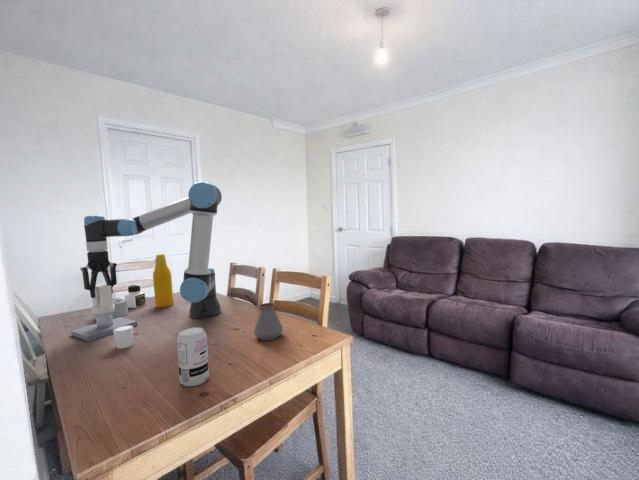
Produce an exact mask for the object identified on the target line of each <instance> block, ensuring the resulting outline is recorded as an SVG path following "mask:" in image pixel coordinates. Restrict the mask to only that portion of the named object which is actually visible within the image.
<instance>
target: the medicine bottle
mask: <svg viewBox="0 0 639 480" xmlns="http://www.w3.org/2000/svg"><path fill="white" fill-rule="evenodd" d="M141 289H142V288H141V285H140V284H132V285H129V286H128V287H127V292H128V294H126V295H124V299H126V300H127V305H128V309H138V308H140V307H143V306H145V305H146V293H145V292H141Z"/></svg>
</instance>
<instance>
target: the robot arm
mask: <svg viewBox="0 0 639 480" xmlns="http://www.w3.org/2000/svg"><path fill="white" fill-rule="evenodd" d="M187 195H188V197H185V198H182V199H180V200H177V201H174V202H172V203H170V204H167V205H164V206H161V207H158V208H156V209H154V210H151V211H148V212H145V213H143V214H141V215H138V216H136V217H132V218H117V219H106V217H105V216H104V215H86V216H85V217H84V218H83V228H84V233H85V244H86V245H85V246H86V251H87V253H86V255H87V264H86V266H82V267H80V268H79V269H80V271H81V272H82V273H81V274H82V281H83V287H84V290H85V291H89V294H90V298H91V299H92V298H93V299H92V303H93V302H94V305H99V303H98V293H97V290H95V286H96V285H97V278H98V275H99V273H100V272H101V273H102V276H103V278H104V281H105V283H106V284H105V285H109V286H111V289H112V295H113V293H114V292H113V287H114V286H116V285H117V283H118V281H117V265H118V264H117V263H115V262H110V260H109V251H108V249H109V248H108V240H107V239H108V238H109V237H110V238H113V237H115V238H116V237H130V236H137V235H140V234H142V233H143V232H145V231H148V230H150V229H152V228H155V227H158V226H160V225H164V224H166V223H169V222H172V221H175V220H177V219H180V218H181V217H185V216H186V215H189V214H191V215H192V221H191V223H192V224H191V233H190V243H189V244H190V245H189V257H188V264H187V265H188V266H187V268H186V269H184V271H183V281H182V282H181V284H180V286H179V293H180V296H181V297H182V299H183V300H184V301H186V302H188V303H190V307H189V308H190V309H189V311H188V314H189V318H192V319H205V318H210V317H214V316H217V315H220V314H221V312H222V307H221V305H220V302H219V300H218V298H217V286H216V285H217V284H216V272H215V269H214V268H209V261H210V255H211V254H210V253H211V252H210V251H211V242H212V232H213V231H212V230H213V220H214V219H213V218H214V217H215V216H217V214H218V206H220V203H221V201H222V198H223V197H222V192H221V190H220V188H218V187H217V186H216V185H214V184H212V183H210V182H207V181H198V182H195V183H194V184H193V185H191V187H190V188H189V190H188V194H187ZM108 268H109V271H108ZM89 269H90V270H91V272H90V275H91V277H90V276H89ZM109 273H110V274H109ZM94 305H93V306H94Z"/></svg>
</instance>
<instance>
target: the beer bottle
mask: <svg viewBox="0 0 639 480" xmlns="http://www.w3.org/2000/svg"><path fill="white" fill-rule="evenodd" d="M152 279H153V281H152V282H153V291H154V304H155V307H156V308H159V309H160V308H169V307H171V306H173V305H174V295H173V282H172V280H173V279H172V272H171V270H170V268H169V266H168V265H167V260H166V256H165V254H164V253H160V254H159V253H158V254H156V255H155V266H154V270H153V271H152Z"/></svg>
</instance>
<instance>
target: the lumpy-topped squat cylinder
mask: <svg viewBox="0 0 639 480" xmlns="http://www.w3.org/2000/svg"><path fill="white" fill-rule="evenodd" d="M112 300H113V303H114V306H115V311H114V312H112V318H113V319H115V318H118V317H124V316H126V315H127V314H129V308H128V305H127V300H126V299H125V298H121V297H116V298H113V297H112Z"/></svg>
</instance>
